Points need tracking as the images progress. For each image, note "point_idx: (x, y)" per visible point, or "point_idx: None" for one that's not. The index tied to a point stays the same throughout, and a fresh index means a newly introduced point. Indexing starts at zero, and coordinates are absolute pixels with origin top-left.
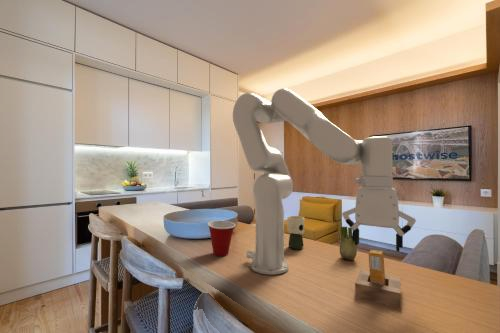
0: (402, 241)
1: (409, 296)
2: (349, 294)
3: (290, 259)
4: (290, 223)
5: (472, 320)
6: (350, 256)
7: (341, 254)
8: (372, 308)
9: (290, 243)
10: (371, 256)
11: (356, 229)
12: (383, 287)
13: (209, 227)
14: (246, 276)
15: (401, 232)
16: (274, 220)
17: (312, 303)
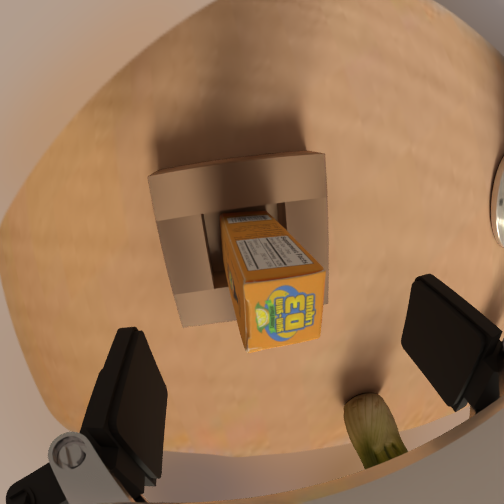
0: (89, 401)
1: (153, 278)
2: (326, 153)
3: (488, 285)
4: None
5: (20, 241)
6: (358, 404)
7: (382, 398)
8: (237, 101)
9: None
10: (302, 264)
11: (491, 359)
12: (215, 185)
13: None
14: None
15: (65, 463)
16: None
17: (392, 39)
